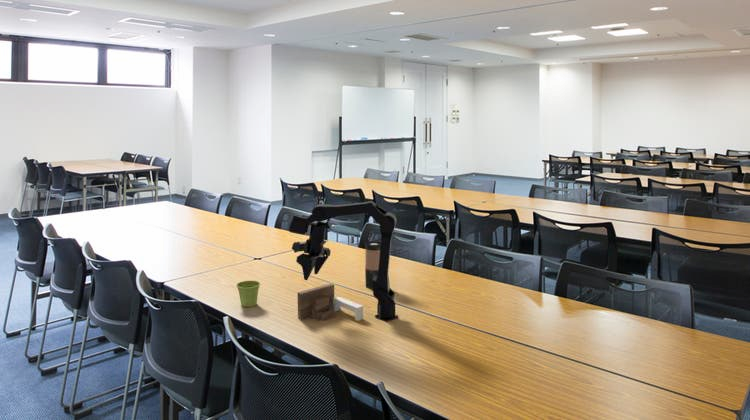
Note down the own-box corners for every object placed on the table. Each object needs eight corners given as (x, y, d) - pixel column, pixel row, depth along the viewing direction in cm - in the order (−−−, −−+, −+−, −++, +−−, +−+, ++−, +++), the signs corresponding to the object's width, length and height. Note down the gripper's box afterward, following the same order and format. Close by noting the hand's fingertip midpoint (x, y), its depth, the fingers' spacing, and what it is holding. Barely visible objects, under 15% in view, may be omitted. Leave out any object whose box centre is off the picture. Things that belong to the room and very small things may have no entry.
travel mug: (385, 285, 234) (385, 242, 230) (376, 290, 227) (376, 245, 224) (371, 283, 238) (371, 240, 234) (361, 287, 231) (362, 243, 228)
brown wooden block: (345, 313, 200) (345, 288, 198) (311, 324, 189) (311, 298, 187) (331, 307, 206) (330, 283, 204) (297, 317, 195) (297, 292, 193)
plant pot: (264, 306, 207) (264, 285, 206) (241, 310, 202) (240, 289, 200) (255, 299, 215) (255, 279, 213) (233, 303, 209) (232, 282, 208)
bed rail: (362, 318, 194) (363, 305, 194) (357, 320, 192) (357, 307, 192) (338, 308, 204) (338, 296, 204) (333, 310, 202) (332, 298, 202)
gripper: (307, 228, 205) (302, 266, 208) (286, 237, 187) (280, 277, 190) (333, 235, 202) (327, 273, 205) (314, 244, 184) (307, 285, 187)
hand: (310, 276), depth 197 cm, fingers open, 9 cm apart
